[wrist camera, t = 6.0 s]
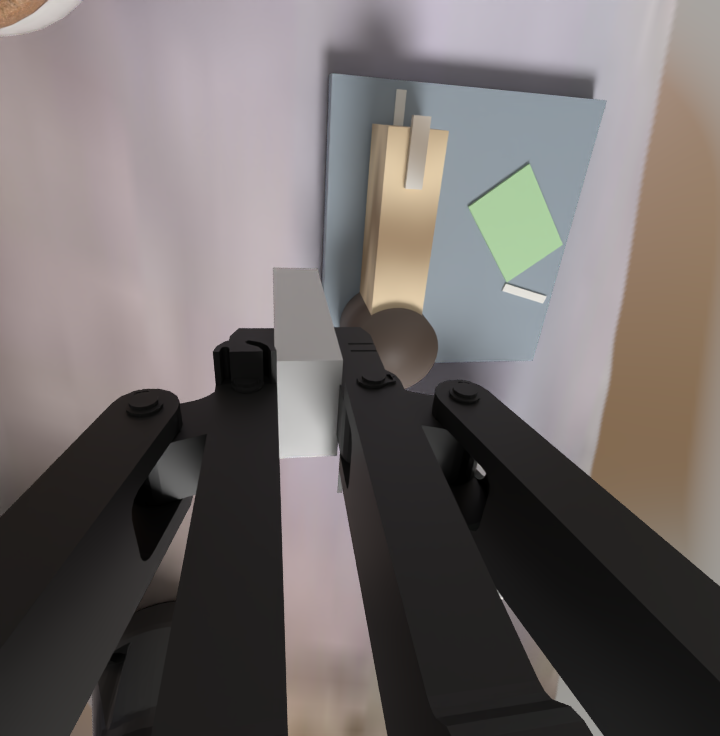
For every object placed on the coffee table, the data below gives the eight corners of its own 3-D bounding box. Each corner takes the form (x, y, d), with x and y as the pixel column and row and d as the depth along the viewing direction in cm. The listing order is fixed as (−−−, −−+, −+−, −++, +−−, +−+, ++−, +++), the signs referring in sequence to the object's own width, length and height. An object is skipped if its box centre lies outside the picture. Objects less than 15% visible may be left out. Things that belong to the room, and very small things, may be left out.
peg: (412, 358, 31) (431, 390, 27) (337, 360, 30) (347, 393, 26) (447, 118, 24) (477, 120, 20) (351, 110, 23) (366, 111, 20)
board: (319, 356, 31) (321, 366, 30) (329, 74, 23) (332, 72, 22) (524, 353, 34) (533, 361, 33) (593, 100, 26) (608, 100, 25)
